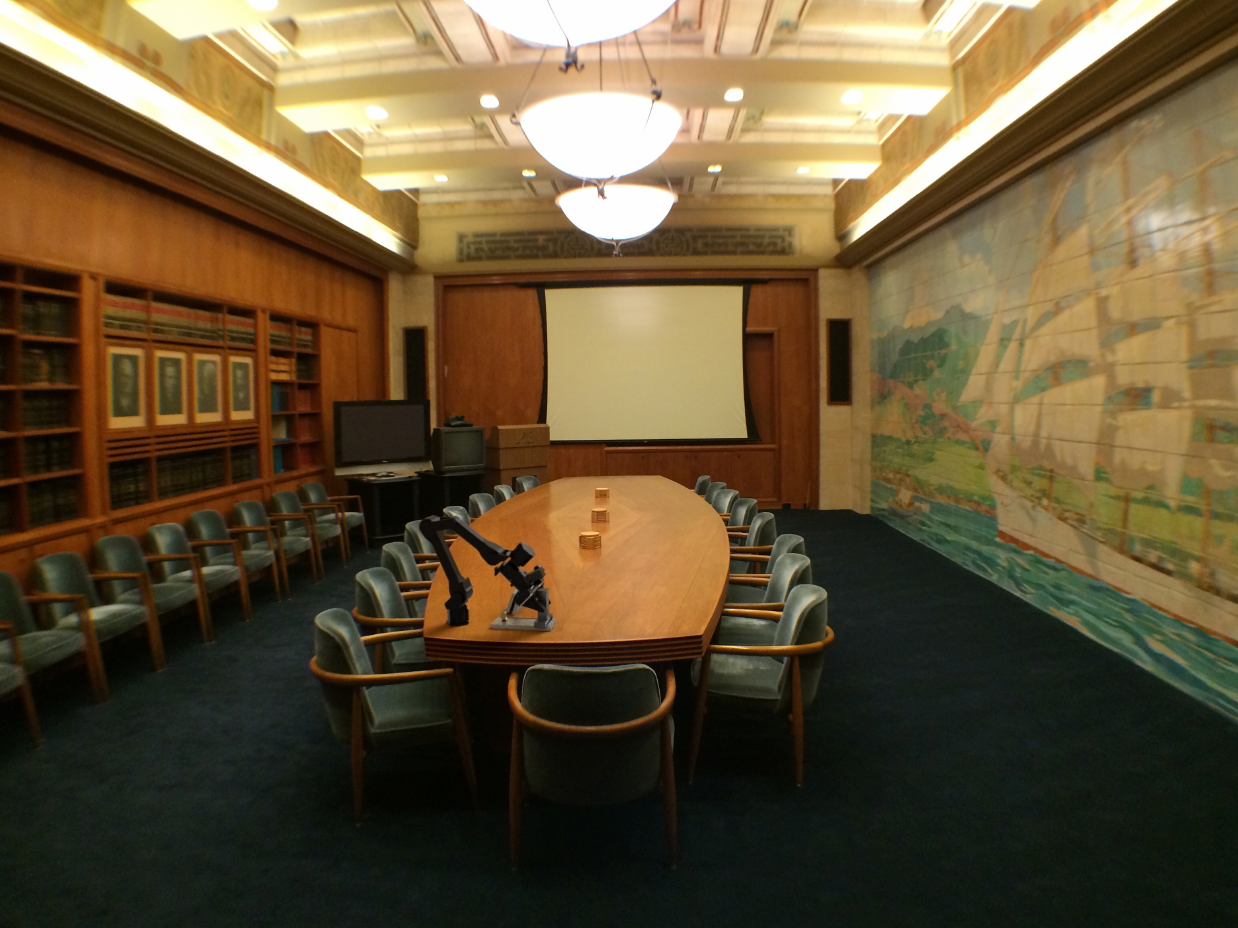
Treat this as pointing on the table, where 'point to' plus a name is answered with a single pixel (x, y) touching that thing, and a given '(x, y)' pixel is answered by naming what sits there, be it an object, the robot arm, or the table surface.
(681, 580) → the table surface
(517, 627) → the bolt plate
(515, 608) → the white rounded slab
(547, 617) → the leg
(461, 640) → the table surface
